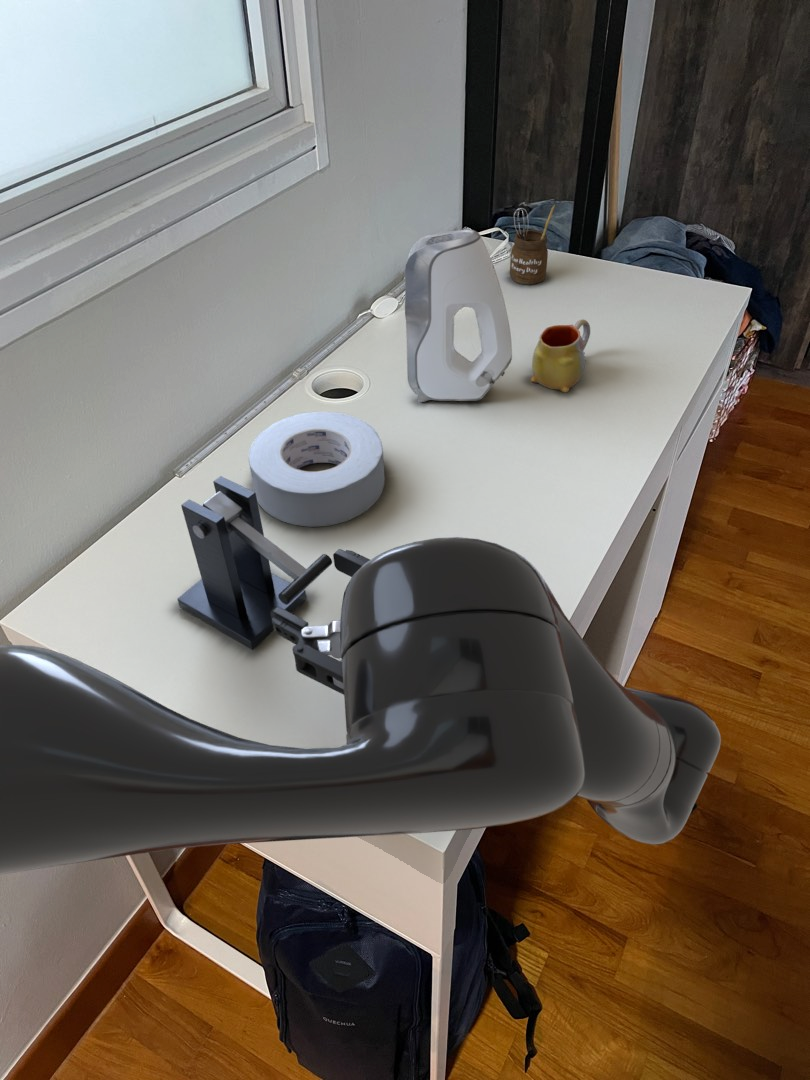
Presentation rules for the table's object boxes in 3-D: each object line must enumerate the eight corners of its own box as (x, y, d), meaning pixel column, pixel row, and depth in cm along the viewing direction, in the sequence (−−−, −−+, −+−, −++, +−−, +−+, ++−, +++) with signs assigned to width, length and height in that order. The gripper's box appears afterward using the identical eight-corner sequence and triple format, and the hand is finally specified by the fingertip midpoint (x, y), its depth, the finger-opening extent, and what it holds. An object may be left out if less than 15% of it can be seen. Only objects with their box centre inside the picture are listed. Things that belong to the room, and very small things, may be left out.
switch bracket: (307, 599, 83) (290, 494, 73) (252, 650, 78) (227, 545, 69) (235, 561, 87) (210, 457, 78) (179, 607, 82) (146, 503, 73)
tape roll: (405, 504, 93) (404, 468, 90) (276, 542, 89) (270, 507, 86) (357, 432, 104) (354, 398, 100) (239, 464, 99) (232, 430, 96)
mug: (564, 398, 108) (570, 353, 104) (520, 381, 111) (524, 337, 107) (609, 360, 115) (616, 317, 110) (566, 345, 118) (571, 302, 114)
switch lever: (330, 570, 75) (334, 555, 73) (287, 610, 71) (290, 596, 69) (232, 495, 77) (234, 479, 76) (186, 531, 74) (186, 515, 72)
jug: (407, 402, 108) (401, 239, 94) (412, 381, 112) (407, 221, 98) (508, 407, 107) (518, 241, 92) (509, 385, 111) (520, 223, 96)
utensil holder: (514, 267, 137) (519, 194, 129) (551, 272, 136) (558, 199, 127) (504, 282, 133) (508, 208, 125) (542, 288, 132) (549, 213, 123)
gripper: (506, 580, 68) (351, 510, 75) (407, 697, 59) (244, 606, 66) (501, 639, 73) (357, 568, 80) (410, 755, 64) (258, 664, 72)
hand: (306, 586), depth 73 cm, fingers open, 8 cm apart
